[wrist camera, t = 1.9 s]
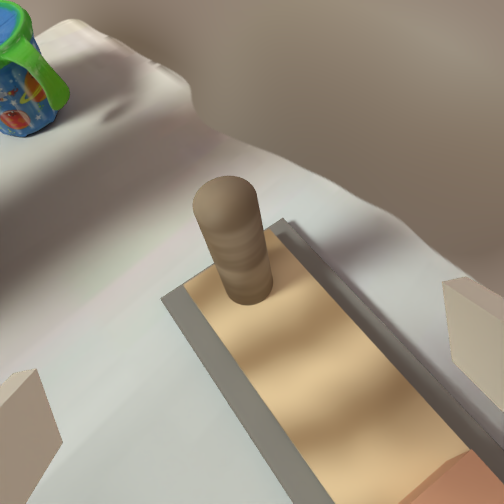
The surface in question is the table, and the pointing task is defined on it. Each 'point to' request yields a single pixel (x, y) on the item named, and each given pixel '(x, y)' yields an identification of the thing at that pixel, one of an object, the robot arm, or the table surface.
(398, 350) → the lane board
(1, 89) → the snack cup
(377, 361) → the tan wooden stand
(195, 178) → the table surface
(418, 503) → the cube
